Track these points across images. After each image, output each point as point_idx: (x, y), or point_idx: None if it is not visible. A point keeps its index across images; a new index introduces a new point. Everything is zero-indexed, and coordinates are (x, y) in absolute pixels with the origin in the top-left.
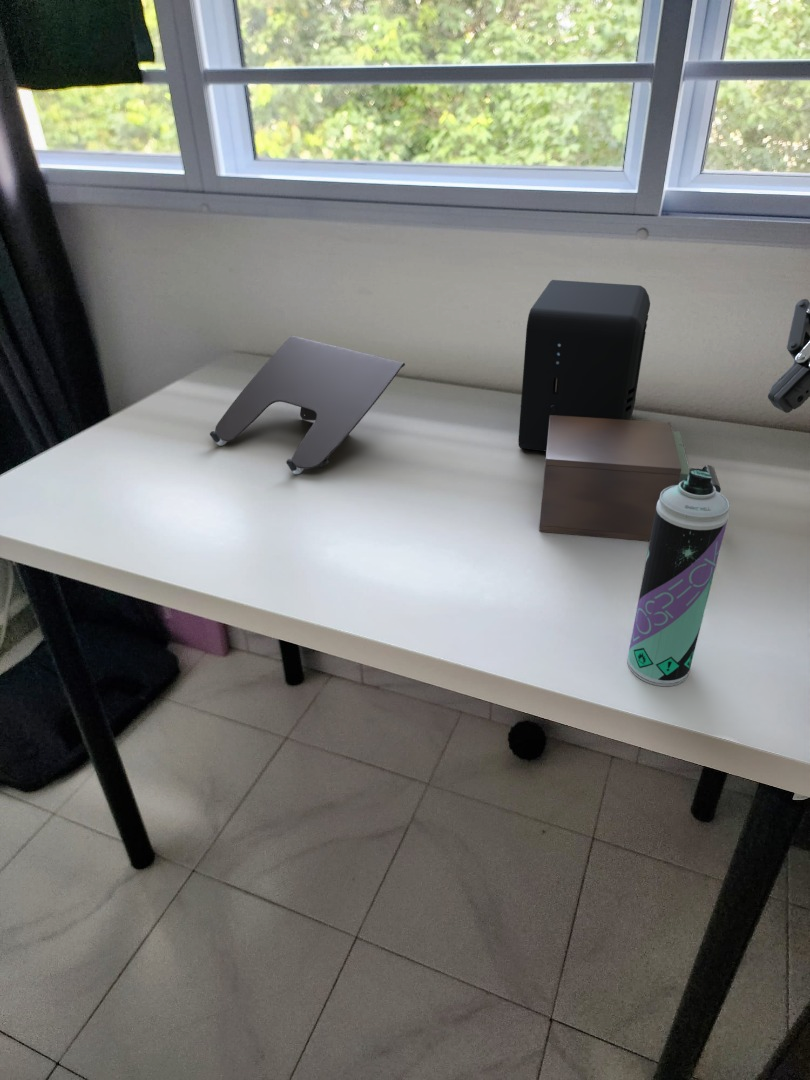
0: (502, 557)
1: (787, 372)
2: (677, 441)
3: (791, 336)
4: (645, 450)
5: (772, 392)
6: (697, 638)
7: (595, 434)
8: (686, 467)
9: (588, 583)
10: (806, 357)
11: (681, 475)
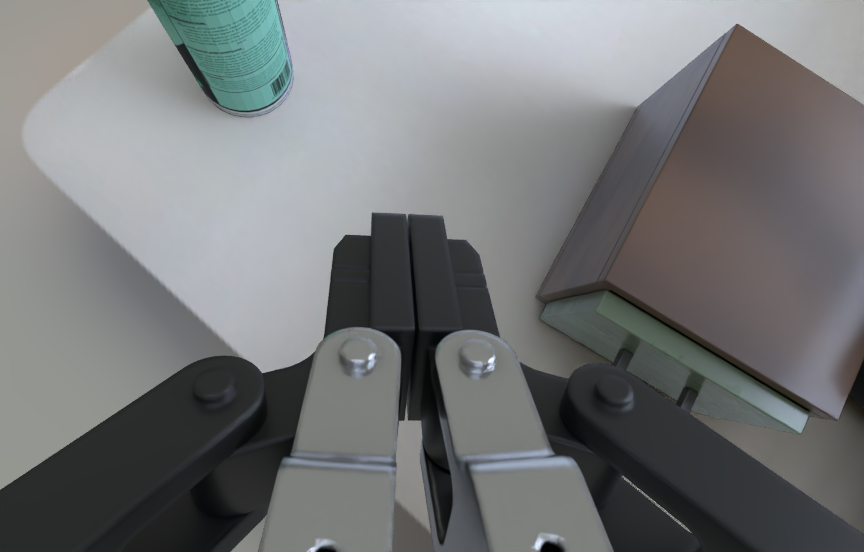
0: (583, 11)
1: (482, 310)
2: (754, 393)
3: (698, 436)
4: (713, 258)
5: (427, 217)
6: (186, 62)
7: (821, 197)
8: (627, 323)
9: (470, 98)
10: (449, 363)
11: (601, 293)
